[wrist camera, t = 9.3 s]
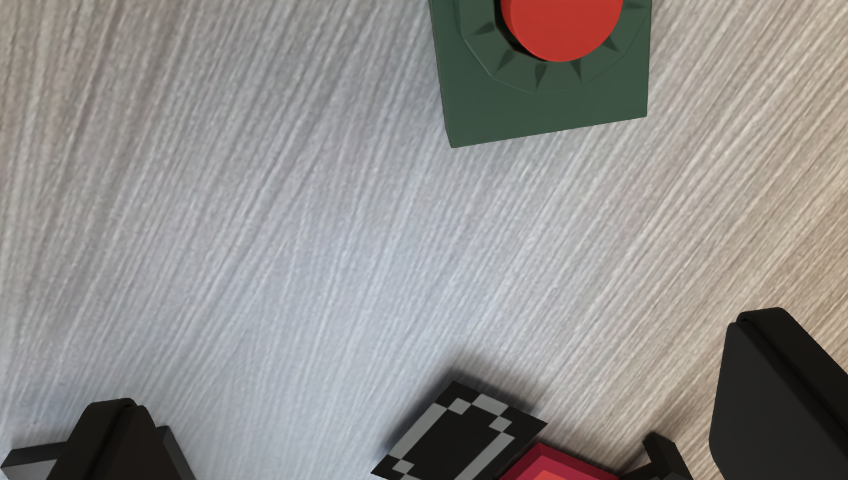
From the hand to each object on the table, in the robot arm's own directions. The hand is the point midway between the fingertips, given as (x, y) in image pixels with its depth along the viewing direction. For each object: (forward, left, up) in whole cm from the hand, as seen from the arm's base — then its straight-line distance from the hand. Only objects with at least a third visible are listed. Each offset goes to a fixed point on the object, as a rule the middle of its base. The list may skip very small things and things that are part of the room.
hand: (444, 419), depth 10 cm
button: (-4, +6, -15) cm, 16 cm away
